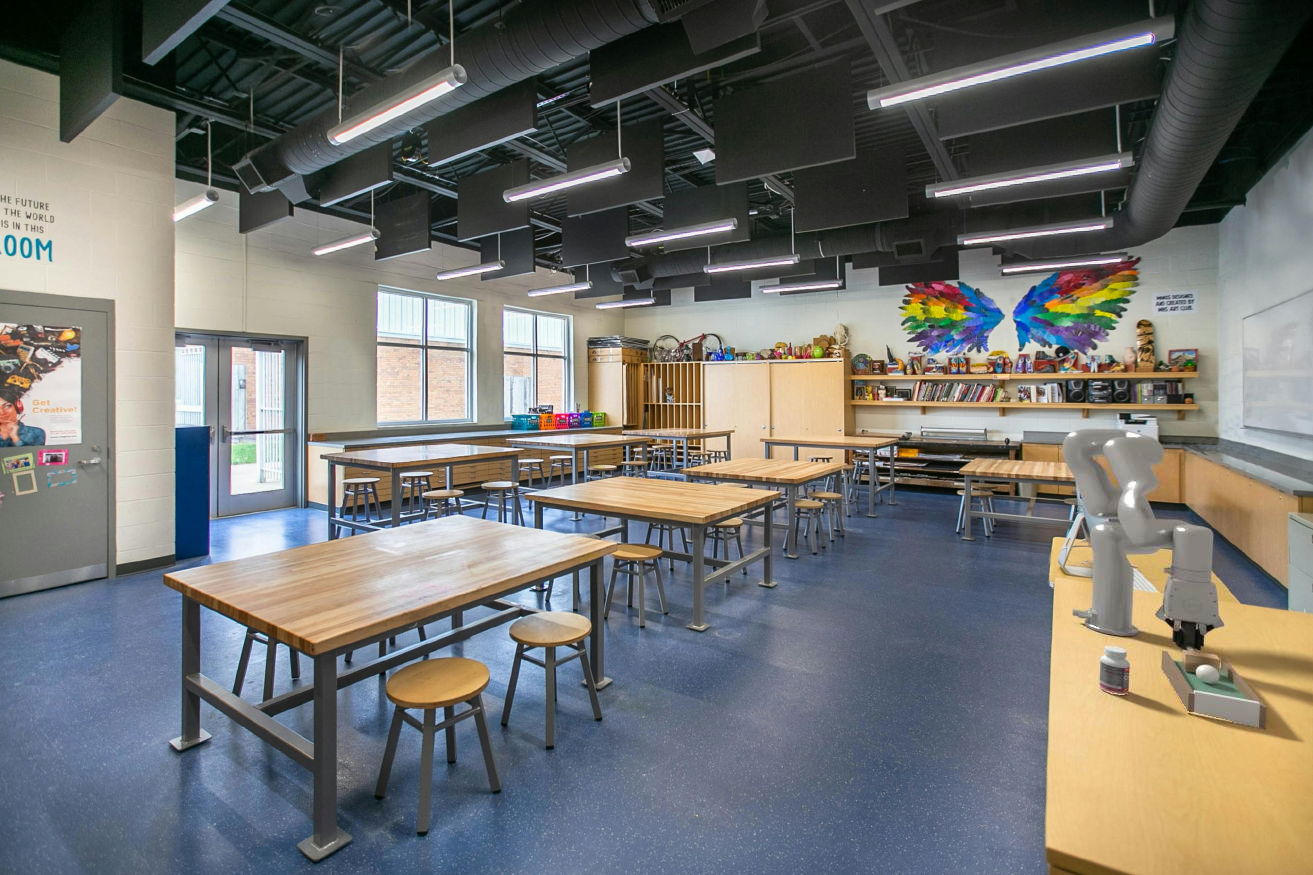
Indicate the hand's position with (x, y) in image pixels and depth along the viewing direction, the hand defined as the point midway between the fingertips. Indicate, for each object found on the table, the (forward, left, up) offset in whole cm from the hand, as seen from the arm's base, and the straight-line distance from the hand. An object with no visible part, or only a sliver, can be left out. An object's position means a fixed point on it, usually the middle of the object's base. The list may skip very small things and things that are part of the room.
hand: (1187, 646), depth 152 cm
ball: (0, -18, 0) cm, 18 cm away
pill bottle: (-18, -27, -5) cm, 33 cm away
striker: (0, -6, -2) cm, 6 cm away
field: (0, -19, -5) cm, 20 cm away
